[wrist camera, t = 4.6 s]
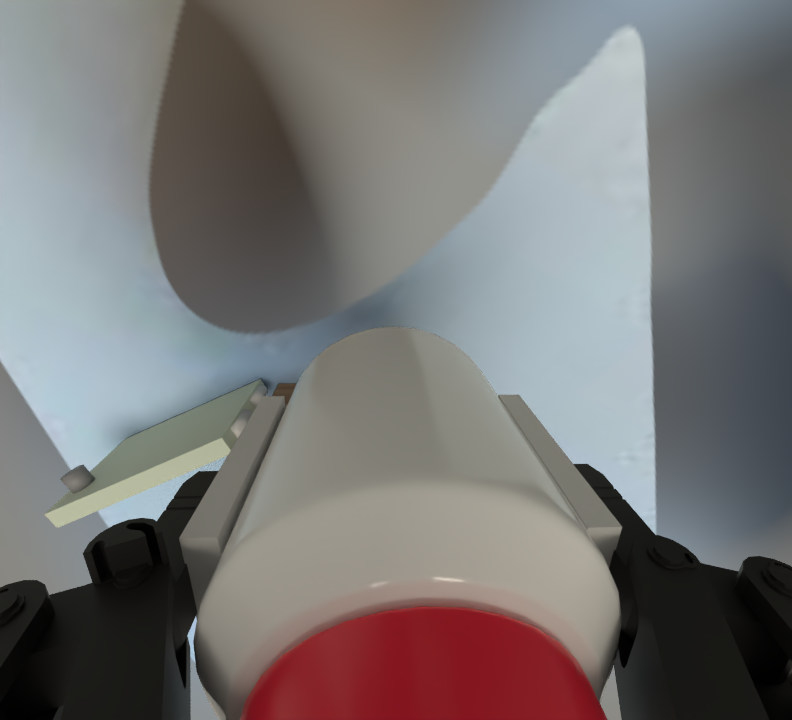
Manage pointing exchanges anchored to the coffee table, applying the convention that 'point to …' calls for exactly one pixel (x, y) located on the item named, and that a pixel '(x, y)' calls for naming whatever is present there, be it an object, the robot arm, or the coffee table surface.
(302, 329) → the coffee table surface
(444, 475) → the pill bottle
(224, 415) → the door
